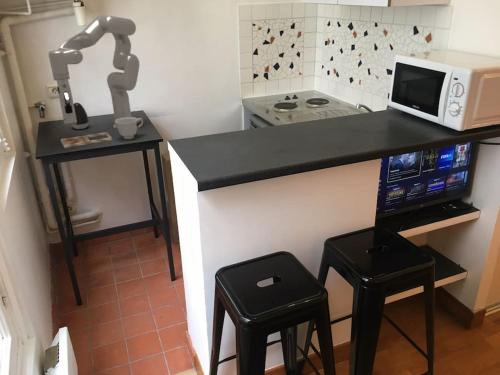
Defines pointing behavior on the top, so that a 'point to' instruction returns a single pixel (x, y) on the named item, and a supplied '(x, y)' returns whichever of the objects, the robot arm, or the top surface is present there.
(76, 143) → the beige flat rectangular frame
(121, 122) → the teacup
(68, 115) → the travel mug
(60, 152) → the top surface
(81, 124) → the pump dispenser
